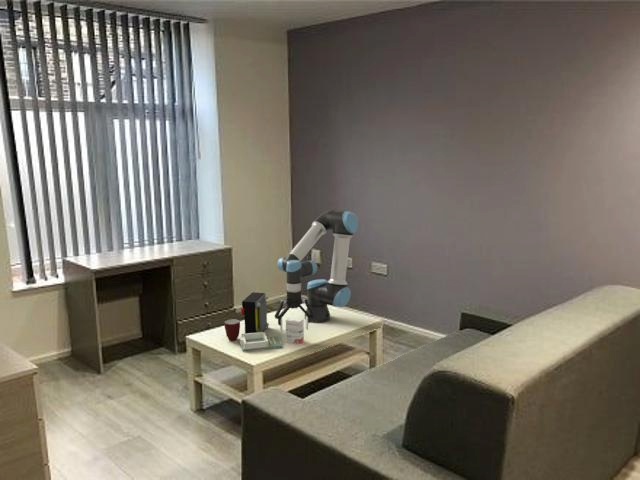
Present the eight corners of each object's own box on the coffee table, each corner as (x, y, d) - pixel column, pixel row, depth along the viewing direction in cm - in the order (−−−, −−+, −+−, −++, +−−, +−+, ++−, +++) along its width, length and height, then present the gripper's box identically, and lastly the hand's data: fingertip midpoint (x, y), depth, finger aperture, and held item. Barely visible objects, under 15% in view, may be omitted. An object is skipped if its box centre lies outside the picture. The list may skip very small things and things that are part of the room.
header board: (277, 338, 283) (277, 330, 282) (282, 347, 270) (282, 339, 269) (239, 341, 278) (239, 334, 277) (242, 351, 265) (241, 343, 264)
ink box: (304, 340, 279) (304, 319, 277) (300, 344, 274) (300, 322, 272) (289, 338, 282) (288, 317, 280) (285, 342, 277) (285, 320, 275)
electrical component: (260, 338, 283) (258, 302, 279) (241, 337, 285) (240, 301, 281) (269, 327, 300) (268, 293, 296) (252, 326, 302) (251, 292, 298)
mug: (219, 338, 283) (218, 320, 281) (231, 334, 289) (230, 317, 287) (231, 343, 276) (230, 325, 274) (243, 339, 282) (243, 321, 280)
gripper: (315, 287, 280) (315, 325, 283) (268, 290, 274) (269, 329, 277) (319, 290, 273) (319, 330, 276) (271, 293, 267) (271, 334, 270)
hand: (294, 330), depth 277 cm, fingers open, 13 cm apart
